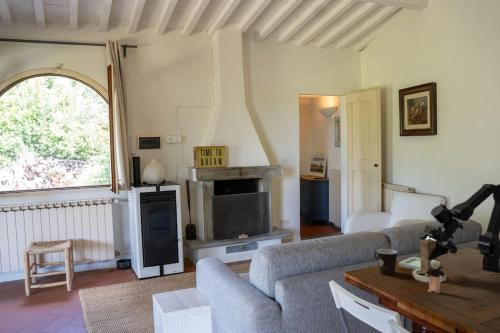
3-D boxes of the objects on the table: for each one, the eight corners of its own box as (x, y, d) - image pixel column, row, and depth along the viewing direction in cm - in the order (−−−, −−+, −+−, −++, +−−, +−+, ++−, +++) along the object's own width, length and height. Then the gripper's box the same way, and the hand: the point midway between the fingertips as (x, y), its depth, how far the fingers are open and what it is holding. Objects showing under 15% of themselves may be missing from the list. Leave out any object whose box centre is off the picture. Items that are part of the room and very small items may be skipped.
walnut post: (430, 270, 177) (429, 239, 176) (437, 273, 173) (436, 241, 172) (420, 271, 176) (420, 240, 175) (427, 274, 172) (427, 242, 171)
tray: (440, 266, 189) (440, 262, 189) (425, 272, 181) (425, 268, 181) (413, 260, 200) (413, 256, 200) (398, 266, 192) (398, 262, 191)
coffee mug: (400, 275, 178) (399, 253, 178) (380, 276, 178) (380, 254, 178) (391, 268, 190) (391, 247, 189) (373, 268, 190) (372, 247, 189)
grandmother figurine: (425, 292, 158) (424, 260, 157) (424, 289, 161) (424, 258, 160) (446, 294, 155) (446, 262, 154) (446, 291, 158) (445, 259, 158)
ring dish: (450, 277, 173) (450, 273, 173) (435, 284, 166) (435, 279, 166) (422, 271, 183) (422, 267, 183) (408, 277, 175) (407, 273, 175)
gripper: (421, 215, 183) (400, 241, 181) (451, 222, 165) (428, 251, 163) (437, 230, 185) (416, 256, 183) (467, 239, 167) (445, 268, 165)
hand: (425, 257), depth 174 cm, fingers closed on walnut post, 5 cm apart
